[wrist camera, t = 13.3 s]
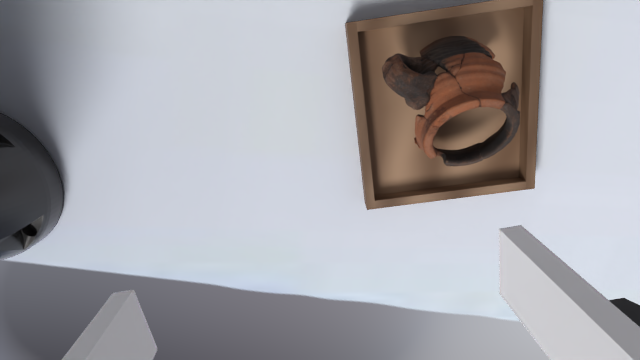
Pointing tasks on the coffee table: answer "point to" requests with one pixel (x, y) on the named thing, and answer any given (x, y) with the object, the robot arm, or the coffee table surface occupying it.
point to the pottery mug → (454, 93)
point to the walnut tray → (461, 130)
